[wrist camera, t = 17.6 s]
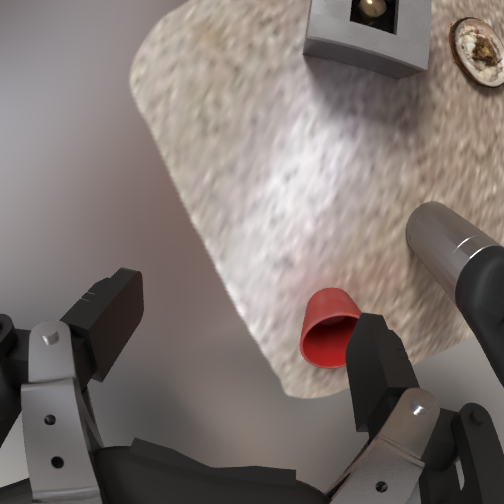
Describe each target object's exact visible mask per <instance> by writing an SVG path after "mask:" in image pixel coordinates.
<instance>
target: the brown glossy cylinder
mask: <svg viewBox="0 0 504 504" xmlns="http://www.w3.org/2000/svg"><path fill="white" fill-rule="evenodd" d="M385 11H386V4H385V2H384V0H361V1H360V2H359V4H358V5H357V7H356V8H355V10H354V11H353V13H352V15H351V16H350V21H351V22H355V23H359V24H362V25H366V26H369V27H371V26H372V25H373V24H374V22H375V21H376V20H377V19H378V18H379V17H380V16H381V15H382V14H383V13H384V12H385Z"/></svg>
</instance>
